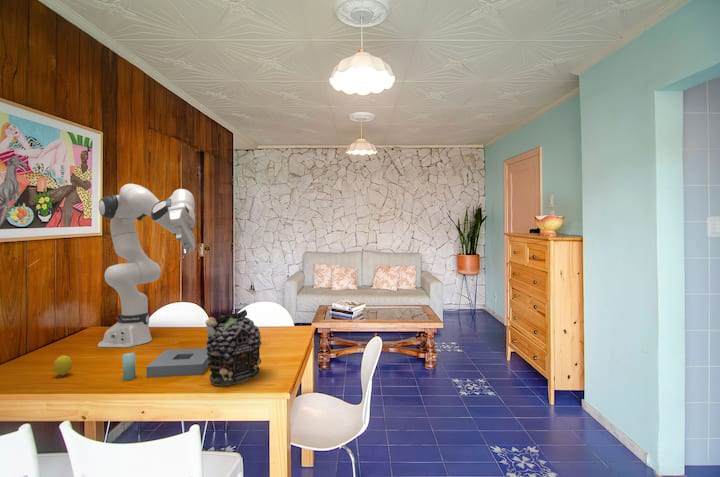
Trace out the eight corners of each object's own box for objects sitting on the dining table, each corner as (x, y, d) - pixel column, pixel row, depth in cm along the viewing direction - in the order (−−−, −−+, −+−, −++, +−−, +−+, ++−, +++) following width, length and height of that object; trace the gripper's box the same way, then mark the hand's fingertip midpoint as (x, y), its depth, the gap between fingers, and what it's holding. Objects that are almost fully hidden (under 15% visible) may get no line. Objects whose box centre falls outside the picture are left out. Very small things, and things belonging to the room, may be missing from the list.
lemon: (60, 373, 147) (59, 352, 147) (75, 372, 147) (75, 352, 147) (50, 379, 141) (49, 357, 141) (65, 378, 142) (65, 357, 142)
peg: (121, 380, 140) (120, 356, 139) (126, 376, 144) (125, 352, 143) (132, 380, 140) (132, 355, 140) (137, 375, 144) (137, 352, 144)
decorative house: (218, 392, 130) (217, 319, 129) (198, 380, 140) (197, 312, 139) (270, 375, 145) (270, 309, 144) (249, 365, 155) (248, 304, 154)
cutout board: (146, 377, 143) (146, 366, 143) (166, 359, 163) (166, 349, 162) (202, 374, 145) (202, 364, 145) (215, 356, 165) (215, 347, 165)
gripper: (183, 237, 164) (183, 263, 156) (166, 204, 148) (165, 231, 140) (198, 234, 165) (199, 260, 157) (183, 201, 149) (183, 228, 141)
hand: (183, 246), depth 148 cm, fingers open, 8 cm apart
